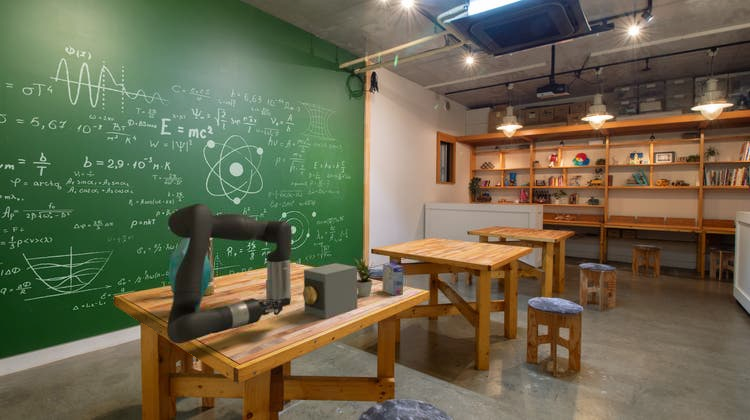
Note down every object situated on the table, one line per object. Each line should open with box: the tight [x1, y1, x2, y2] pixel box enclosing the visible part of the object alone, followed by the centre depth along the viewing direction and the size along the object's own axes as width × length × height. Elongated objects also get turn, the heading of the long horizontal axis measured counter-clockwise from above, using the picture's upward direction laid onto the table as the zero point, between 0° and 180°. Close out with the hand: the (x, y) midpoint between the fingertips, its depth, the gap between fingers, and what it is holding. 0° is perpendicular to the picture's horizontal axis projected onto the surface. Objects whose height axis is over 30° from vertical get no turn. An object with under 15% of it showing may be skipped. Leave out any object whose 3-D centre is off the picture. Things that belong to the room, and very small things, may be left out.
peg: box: [302, 285, 319, 304], centre depth 137 cm, size 15×6×6 cm, turn 139°
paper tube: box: [204, 237, 215, 296], centre depth 163 cm, size 7×7×25 cm
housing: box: [303, 262, 358, 320], centre depth 140 cm, size 16×12×16 cm
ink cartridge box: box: [382, 259, 404, 296], centre depth 163 cm, size 10×6×14 cm, turn 27°
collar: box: [303, 277, 324, 311], centre depth 134 cm, size 1×10×10 cm, turn 49°
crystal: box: [167, 238, 211, 312], centre depth 139 cm, size 12×14×30 cm
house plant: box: [348, 258, 378, 298], centre depth 161 cm, size 14×14×16 cm
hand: (288, 300), depth 125 cm, fingers closed
